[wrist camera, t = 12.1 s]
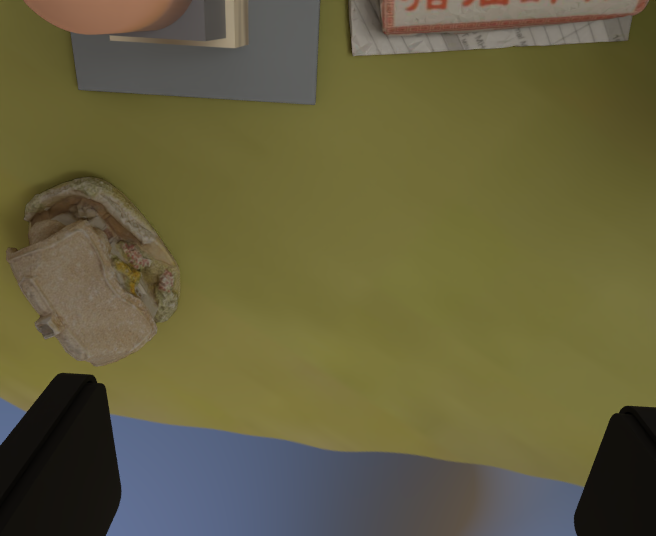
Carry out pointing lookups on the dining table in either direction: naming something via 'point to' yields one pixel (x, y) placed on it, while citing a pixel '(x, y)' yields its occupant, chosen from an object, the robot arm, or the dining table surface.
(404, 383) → the dining table surface
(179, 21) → the charcoal block
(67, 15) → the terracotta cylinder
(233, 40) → the birch block
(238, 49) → the slate mat
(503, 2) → the packaged product
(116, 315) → the stuffed bread roll
